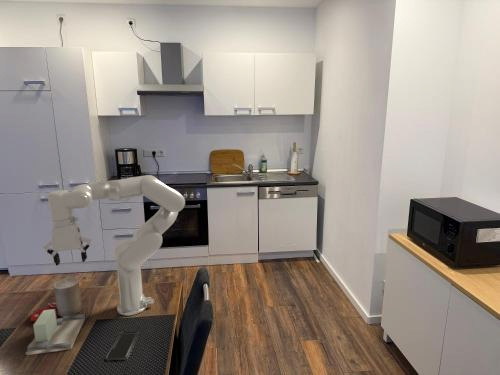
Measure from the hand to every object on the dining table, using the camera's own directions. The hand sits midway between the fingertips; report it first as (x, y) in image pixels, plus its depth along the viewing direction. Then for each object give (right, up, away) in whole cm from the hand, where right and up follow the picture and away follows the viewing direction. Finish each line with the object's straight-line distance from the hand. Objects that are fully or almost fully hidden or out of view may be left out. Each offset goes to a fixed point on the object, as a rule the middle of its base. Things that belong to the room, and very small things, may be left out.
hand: (71, 262), depth 135 cm
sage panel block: (-7, -27, -5) cm, 29 cm away
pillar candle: (-7, -25, +13) cm, 29 cm away
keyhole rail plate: (-3, -28, -4) cm, 28 cm away
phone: (+25, -30, -10) cm, 40 cm away
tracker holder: (-15, -26, +9) cm, 31 cm away
